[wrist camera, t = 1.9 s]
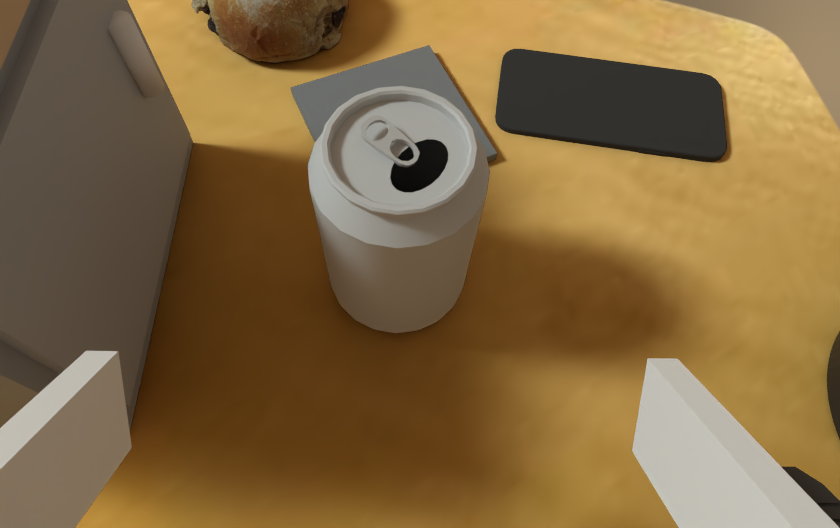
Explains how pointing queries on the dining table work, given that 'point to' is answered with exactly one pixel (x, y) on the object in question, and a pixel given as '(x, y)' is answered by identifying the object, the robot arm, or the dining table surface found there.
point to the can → (398, 205)
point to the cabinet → (81, 191)
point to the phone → (611, 105)
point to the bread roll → (275, 26)
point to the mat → (398, 70)
